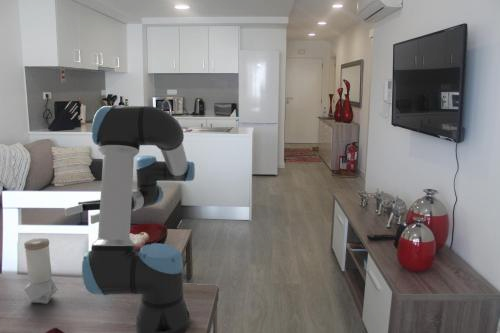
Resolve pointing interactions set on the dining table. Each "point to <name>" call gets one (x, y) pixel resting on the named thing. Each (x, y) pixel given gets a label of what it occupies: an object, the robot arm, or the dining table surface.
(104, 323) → the dining table surface
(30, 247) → the jar
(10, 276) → the dining table surface
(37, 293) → the die
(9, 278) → the dining table surface
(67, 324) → the dining table surface
